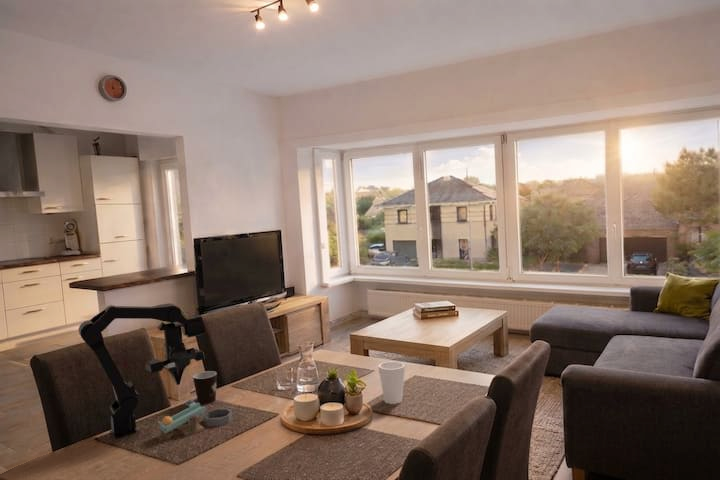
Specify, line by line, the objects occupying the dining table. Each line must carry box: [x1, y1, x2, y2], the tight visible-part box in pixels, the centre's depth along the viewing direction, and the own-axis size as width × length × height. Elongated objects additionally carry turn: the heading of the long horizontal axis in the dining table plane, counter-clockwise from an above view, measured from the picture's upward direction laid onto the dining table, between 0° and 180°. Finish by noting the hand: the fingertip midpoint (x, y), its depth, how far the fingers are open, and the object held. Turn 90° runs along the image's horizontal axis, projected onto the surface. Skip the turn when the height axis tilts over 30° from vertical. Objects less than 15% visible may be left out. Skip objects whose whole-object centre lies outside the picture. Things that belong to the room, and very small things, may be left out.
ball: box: [161, 415, 173, 427], centre depth 170 cm, size 3×3×3 cm
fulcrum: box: [157, 416, 205, 441], centre depth 172 cm, size 13×8×5 cm, turn 129°
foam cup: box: [378, 360, 406, 405], centre depth 190 cm, size 10×9×13 cm
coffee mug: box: [192, 370, 218, 405], centre depth 200 cm, size 12×9×10 cm
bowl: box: [202, 408, 233, 427], centre depth 180 cm, size 9×9×2 cm
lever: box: [157, 398, 207, 433], centre depth 176 cm, size 14×13×3 cm
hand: (178, 384), depth 184 cm, fingers closed
